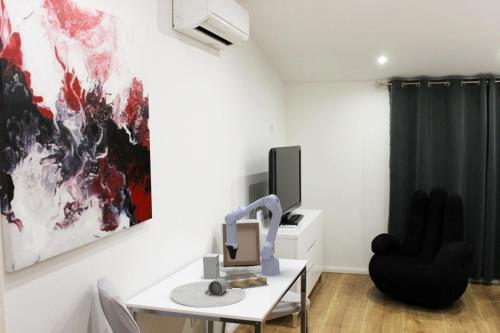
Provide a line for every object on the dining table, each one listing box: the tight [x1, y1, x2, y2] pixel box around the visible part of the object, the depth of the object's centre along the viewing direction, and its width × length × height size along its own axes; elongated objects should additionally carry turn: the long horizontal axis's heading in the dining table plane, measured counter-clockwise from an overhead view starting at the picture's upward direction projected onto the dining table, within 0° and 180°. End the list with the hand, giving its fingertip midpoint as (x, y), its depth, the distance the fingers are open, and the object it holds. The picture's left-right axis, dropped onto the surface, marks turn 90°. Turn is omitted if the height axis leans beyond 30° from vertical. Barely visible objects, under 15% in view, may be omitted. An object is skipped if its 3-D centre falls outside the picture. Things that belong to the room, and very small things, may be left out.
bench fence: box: [227, 274, 268, 290], centre depth 243 cm, size 20×5×4 cm, turn 107°
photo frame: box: [222, 222, 261, 267], centre depth 289 cm, size 15×22×25 cm
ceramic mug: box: [205, 278, 228, 297], centre depth 232 cm, size 11×8×8 cm
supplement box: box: [202, 253, 221, 280], centre depth 261 cm, size 7×7×13 cm
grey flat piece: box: [225, 268, 252, 280], centre depth 257 cm, size 12×8×3 cm, turn 107°
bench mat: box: [217, 272, 269, 290], centre depth 250 cm, size 20×26×1 cm
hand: (232, 258), depth 267 cm, fingers closed
